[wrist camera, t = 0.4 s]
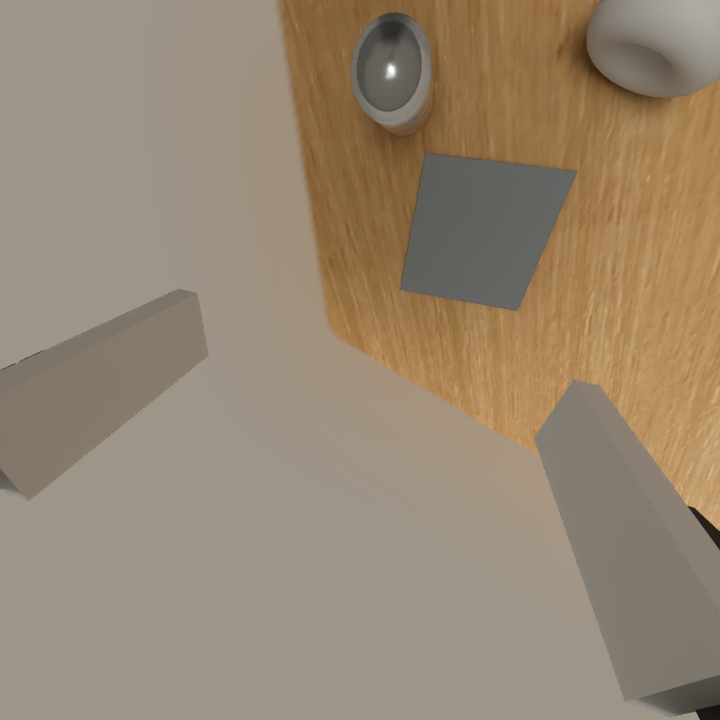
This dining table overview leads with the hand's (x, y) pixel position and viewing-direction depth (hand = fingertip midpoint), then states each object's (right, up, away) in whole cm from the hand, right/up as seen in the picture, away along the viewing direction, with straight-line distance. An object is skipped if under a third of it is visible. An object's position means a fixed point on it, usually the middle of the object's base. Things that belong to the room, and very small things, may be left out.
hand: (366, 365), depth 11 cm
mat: (+13, +14, +24) cm, 31 cm away
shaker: (+4, +26, +19) cm, 33 cm away
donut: (+22, +26, +15) cm, 37 cm away
